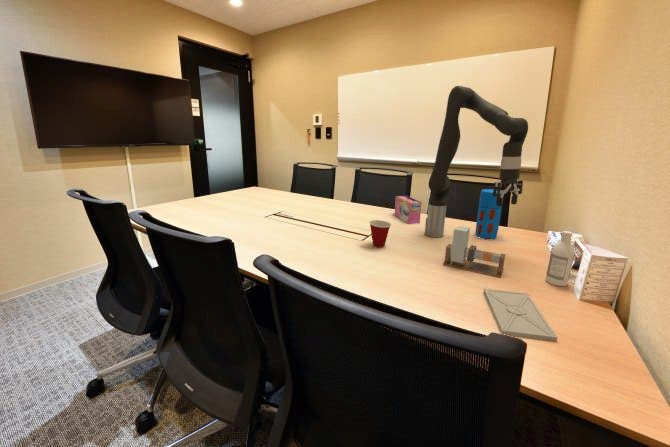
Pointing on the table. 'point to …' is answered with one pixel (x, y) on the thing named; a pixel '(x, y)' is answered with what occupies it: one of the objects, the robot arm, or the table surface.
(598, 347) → the table surface
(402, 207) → the pink cardboard box
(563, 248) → the bath foam
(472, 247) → the gray brick
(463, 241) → the pale grey rectangular block
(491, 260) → the rail
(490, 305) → the envelope
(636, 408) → the table surface
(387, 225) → the plastic cup
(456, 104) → the robot arm
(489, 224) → the blue tall rounded block
